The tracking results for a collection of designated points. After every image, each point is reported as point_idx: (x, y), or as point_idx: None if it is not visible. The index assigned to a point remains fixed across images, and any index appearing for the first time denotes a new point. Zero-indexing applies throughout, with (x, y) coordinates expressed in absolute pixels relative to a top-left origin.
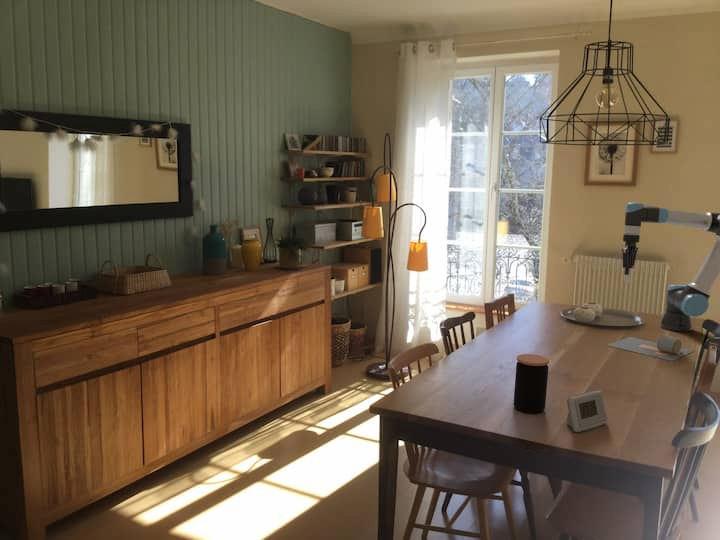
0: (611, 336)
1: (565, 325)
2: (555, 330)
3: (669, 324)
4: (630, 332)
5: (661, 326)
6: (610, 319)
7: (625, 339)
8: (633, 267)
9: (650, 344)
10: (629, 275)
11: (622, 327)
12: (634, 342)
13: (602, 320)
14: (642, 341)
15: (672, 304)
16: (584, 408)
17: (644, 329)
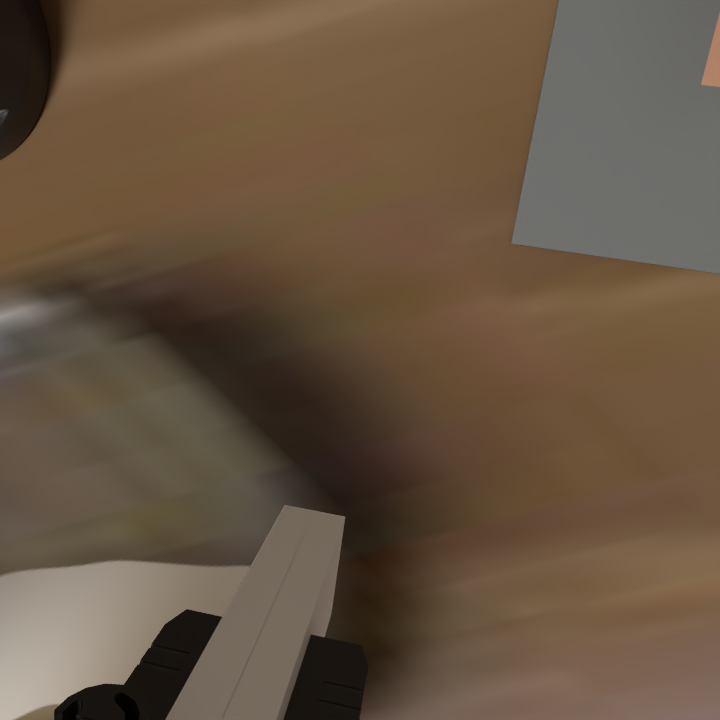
0: (590, 358)
1: (498, 685)
2: (696, 701)
3: (16, 61)
4: (353, 283)
5: (17, 141)
6: (85, 501)
7: (629, 243)
8: (94, 706)
9: (657, 28)
10: (318, 596)
11: (246, 373)
12: (680, 156)
13: (158, 535)
14: (598, 114)
15: None
16: None
17: (177, 228)
